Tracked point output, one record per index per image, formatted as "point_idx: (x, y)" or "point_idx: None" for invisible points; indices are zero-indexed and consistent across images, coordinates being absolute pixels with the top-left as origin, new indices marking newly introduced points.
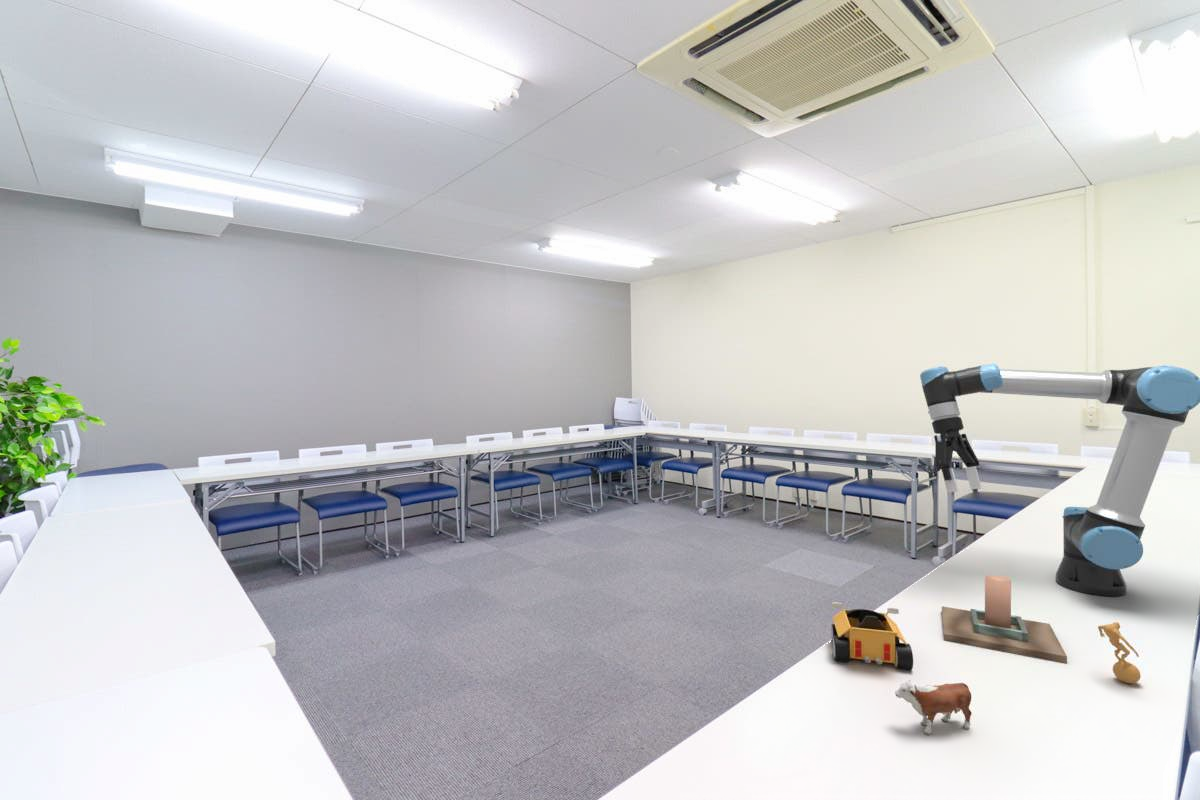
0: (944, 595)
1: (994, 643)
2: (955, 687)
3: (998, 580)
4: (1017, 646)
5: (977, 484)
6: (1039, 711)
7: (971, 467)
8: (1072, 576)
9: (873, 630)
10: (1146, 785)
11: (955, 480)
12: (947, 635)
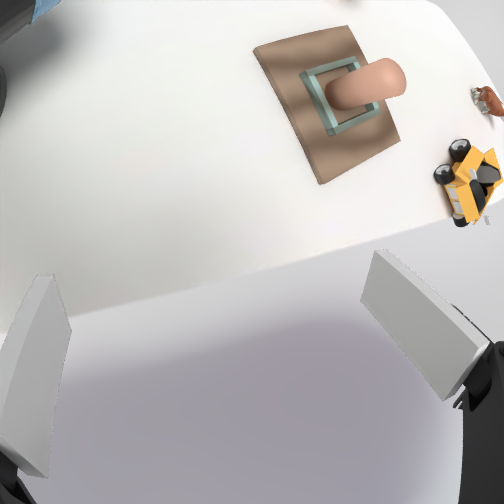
0: (238, 222)
1: None
2: (495, 94)
3: (399, 74)
4: None
5: (50, 306)
6: (431, 51)
7: (18, 444)
8: None
9: (498, 165)
10: (441, 11)
11: (422, 287)
12: (398, 137)
